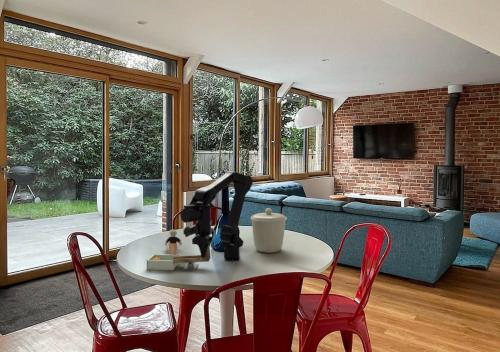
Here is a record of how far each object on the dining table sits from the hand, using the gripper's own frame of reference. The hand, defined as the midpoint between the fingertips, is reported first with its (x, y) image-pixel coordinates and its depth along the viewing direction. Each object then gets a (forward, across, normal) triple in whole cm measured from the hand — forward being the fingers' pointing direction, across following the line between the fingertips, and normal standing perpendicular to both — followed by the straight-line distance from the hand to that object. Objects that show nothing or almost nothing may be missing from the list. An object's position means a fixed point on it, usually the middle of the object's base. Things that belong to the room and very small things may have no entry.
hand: (204, 255), depth 157 cm
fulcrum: (+5, 0, -6) cm, 8 cm away
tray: (+5, 0, -18) cm, 19 cm away
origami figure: (+5, -28, -22) cm, 36 cm away
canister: (+5, -30, +26) cm, 40 cm away
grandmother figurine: (+5, -16, -18) cm, 25 cm away
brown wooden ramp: (+2, 0, -6) cm, 6 cm away
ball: (+3, 0, -20) cm, 21 cm away
